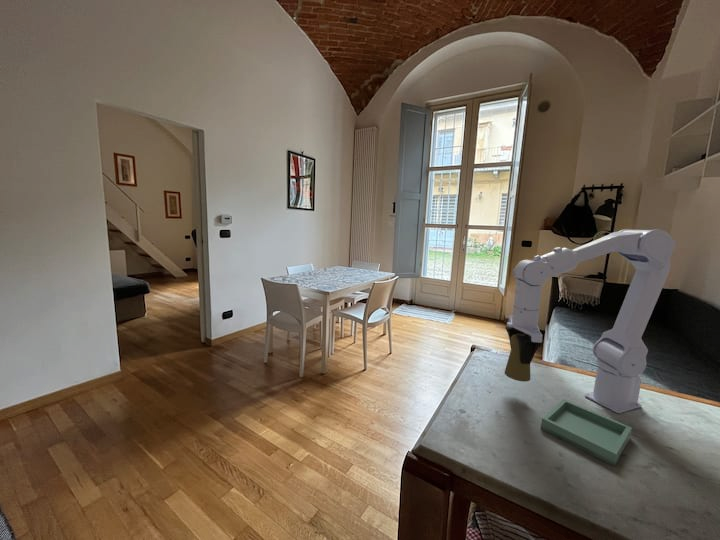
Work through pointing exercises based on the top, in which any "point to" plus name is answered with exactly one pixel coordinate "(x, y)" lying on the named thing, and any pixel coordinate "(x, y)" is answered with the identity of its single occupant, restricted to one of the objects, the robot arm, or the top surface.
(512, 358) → the cork
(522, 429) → the top surface
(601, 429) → the tray
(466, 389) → the top surface
